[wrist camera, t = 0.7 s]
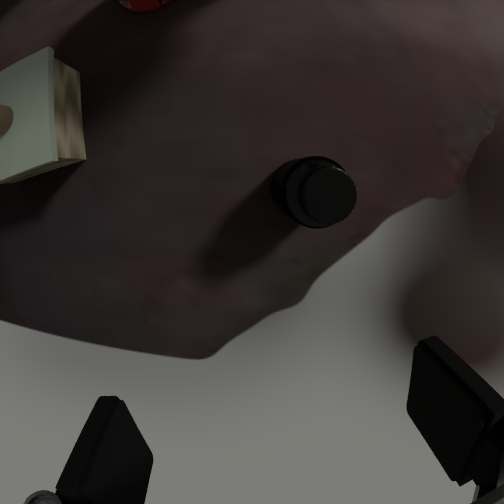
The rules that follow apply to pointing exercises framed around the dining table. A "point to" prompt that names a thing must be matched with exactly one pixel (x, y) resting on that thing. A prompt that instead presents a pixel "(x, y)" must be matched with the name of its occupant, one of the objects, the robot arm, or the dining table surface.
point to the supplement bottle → (313, 191)
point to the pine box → (63, 121)
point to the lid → (27, 115)
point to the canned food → (143, 5)
